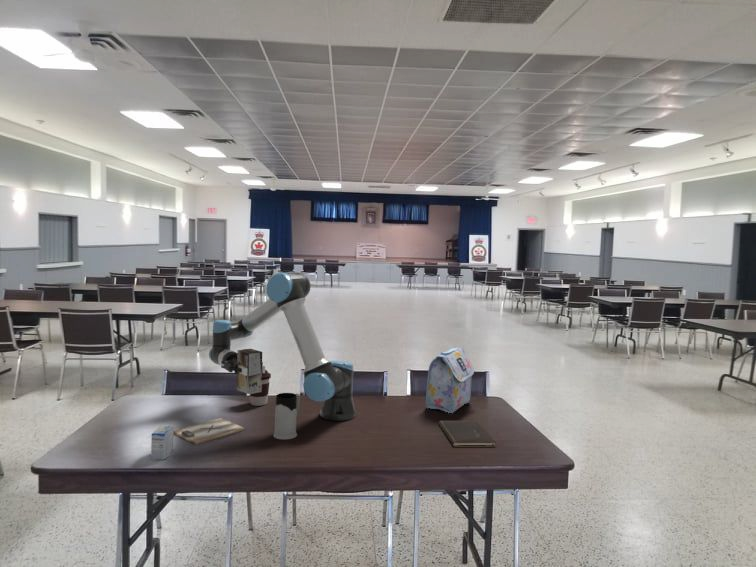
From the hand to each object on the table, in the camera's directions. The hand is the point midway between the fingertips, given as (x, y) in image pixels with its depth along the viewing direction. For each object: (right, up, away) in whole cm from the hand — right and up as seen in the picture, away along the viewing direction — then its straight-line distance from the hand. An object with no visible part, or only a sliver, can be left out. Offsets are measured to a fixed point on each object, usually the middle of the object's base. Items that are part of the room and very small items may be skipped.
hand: (255, 370), depth 183 cm
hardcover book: (+82, -26, +1) cm, 86 cm away
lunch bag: (+81, -24, +37) cm, 92 cm away
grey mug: (+14, -23, -4) cm, 27 cm away
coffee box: (-4, -9, +4) cm, 10 cm away
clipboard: (-16, -22, -6) cm, 27 cm away
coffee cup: (-6, -21, +30) cm, 37 cm away
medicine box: (-23, -23, -28) cm, 43 cm away
